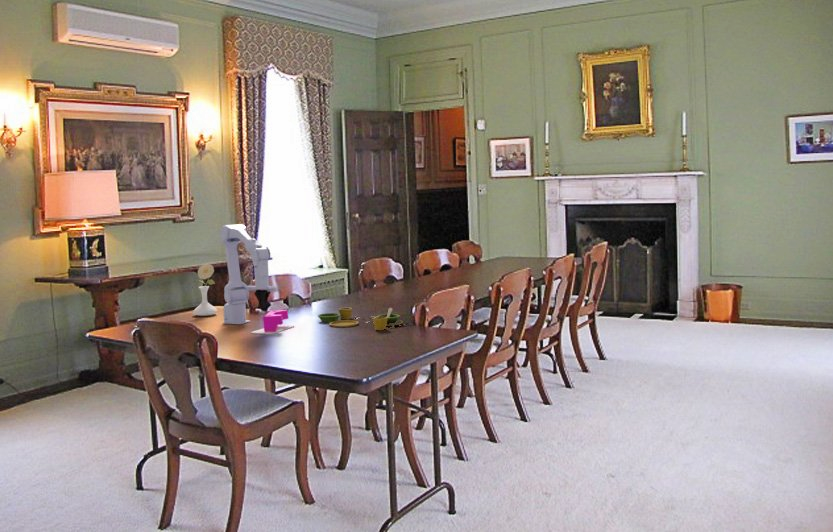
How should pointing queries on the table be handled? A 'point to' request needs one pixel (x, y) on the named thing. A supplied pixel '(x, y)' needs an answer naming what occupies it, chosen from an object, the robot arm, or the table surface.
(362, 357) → the table surface
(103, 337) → the table surface
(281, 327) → the mat
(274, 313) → the toy block
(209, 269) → the flower in vase
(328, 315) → the tableware set
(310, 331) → the table surface
